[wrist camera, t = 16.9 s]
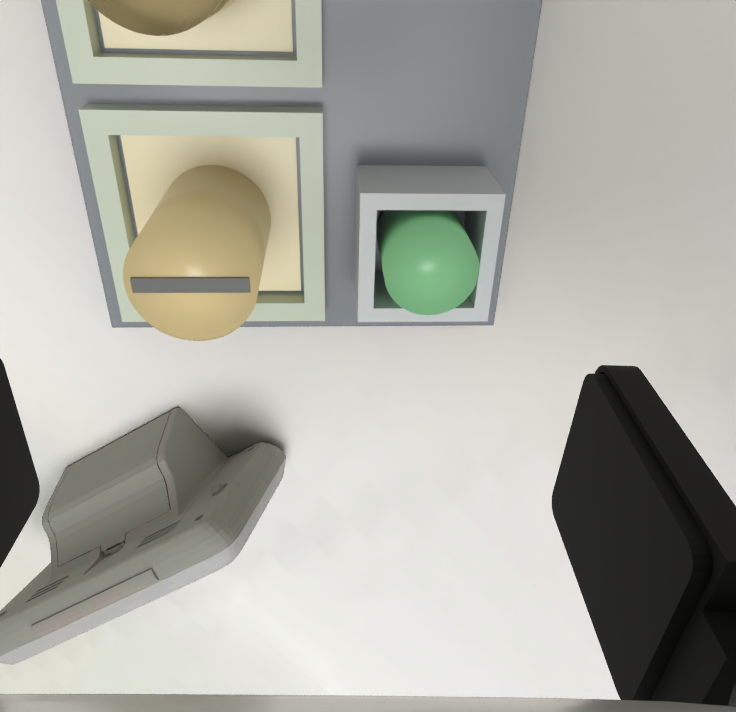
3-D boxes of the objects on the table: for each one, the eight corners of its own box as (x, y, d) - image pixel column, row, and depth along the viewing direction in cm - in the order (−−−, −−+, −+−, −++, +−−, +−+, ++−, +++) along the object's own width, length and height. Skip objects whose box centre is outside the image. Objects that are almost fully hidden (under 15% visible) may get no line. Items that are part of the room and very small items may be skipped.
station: (569, -248, 23) (679, -335, 16) (488, 314, 35) (530, 407, 28) (-6, -276, 22) (-167, -385, 15) (118, 316, 34) (63, 414, 27)
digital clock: (88, 552, 44) (27, 707, 35) (6, 459, 39) (-88, 612, 30) (309, 487, 42) (305, 635, 33) (252, 381, 37) (228, 519, 28)
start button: (464, 192, 30) (484, 227, 26) (456, 271, 32) (473, 315, 28) (378, 192, 29) (386, 227, 26) (375, 272, 31) (382, 315, 28)
